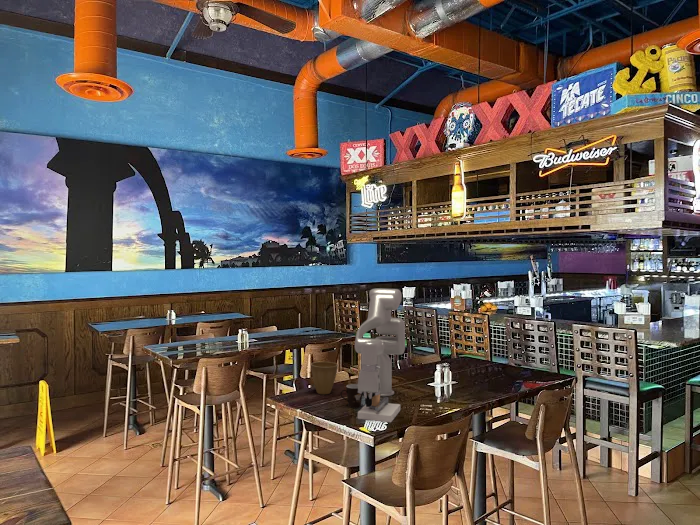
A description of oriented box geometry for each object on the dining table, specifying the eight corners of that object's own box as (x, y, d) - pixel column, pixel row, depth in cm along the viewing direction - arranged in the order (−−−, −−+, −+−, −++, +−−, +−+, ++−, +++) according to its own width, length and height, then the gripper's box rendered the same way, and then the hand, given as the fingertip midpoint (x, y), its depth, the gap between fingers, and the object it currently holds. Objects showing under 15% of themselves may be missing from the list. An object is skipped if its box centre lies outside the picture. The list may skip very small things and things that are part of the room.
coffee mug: (362, 403, 271) (362, 384, 271) (363, 408, 263) (363, 388, 262) (339, 403, 271) (340, 384, 271) (340, 408, 262) (340, 388, 262)
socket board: (369, 407, 265) (369, 401, 265) (400, 410, 260) (400, 404, 260) (357, 418, 246) (357, 412, 246) (391, 422, 241) (391, 415, 241)
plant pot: (318, 397, 281) (318, 367, 281) (306, 391, 294) (306, 362, 294) (342, 394, 289) (342, 365, 289) (329, 388, 302) (329, 360, 301)
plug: (370, 411, 258) (371, 386, 257) (383, 412, 256) (383, 387, 255) (367, 415, 251) (367, 389, 251) (380, 416, 249) (380, 391, 249)
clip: (384, 402, 262) (384, 396, 262) (388, 403, 261) (388, 397, 261) (374, 413, 243) (374, 407, 243) (379, 413, 243) (379, 407, 243)
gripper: (386, 367, 250) (385, 405, 251) (356, 364, 255) (355, 402, 255) (382, 370, 243) (381, 410, 243) (351, 368, 248) (351, 406, 248)
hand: (368, 406), depth 249 cm, fingers closed
